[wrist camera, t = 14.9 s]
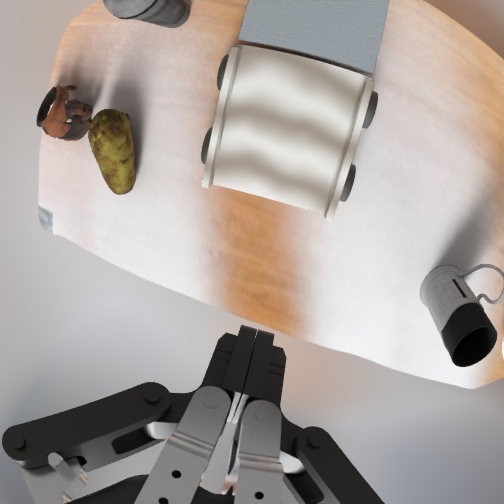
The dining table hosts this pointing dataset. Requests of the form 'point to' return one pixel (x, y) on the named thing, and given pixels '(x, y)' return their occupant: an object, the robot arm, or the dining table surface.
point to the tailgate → (319, 28)
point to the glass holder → (459, 314)
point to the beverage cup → (151, 11)
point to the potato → (113, 149)
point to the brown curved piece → (64, 115)
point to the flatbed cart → (287, 128)
